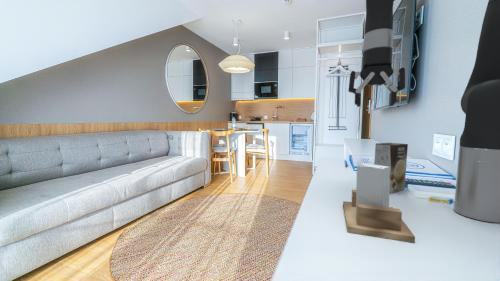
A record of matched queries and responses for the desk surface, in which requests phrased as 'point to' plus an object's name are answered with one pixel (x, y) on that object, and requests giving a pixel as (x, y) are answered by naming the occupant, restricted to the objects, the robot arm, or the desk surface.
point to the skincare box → (372, 185)
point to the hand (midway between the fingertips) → (374, 106)
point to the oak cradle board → (374, 231)
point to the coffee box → (393, 162)
